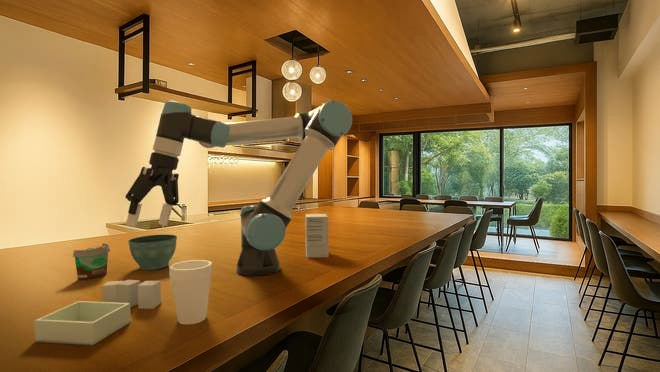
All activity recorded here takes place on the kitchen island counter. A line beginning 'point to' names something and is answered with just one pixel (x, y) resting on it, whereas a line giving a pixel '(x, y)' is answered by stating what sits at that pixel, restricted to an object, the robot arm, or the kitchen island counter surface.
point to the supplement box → (316, 235)
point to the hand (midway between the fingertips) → (147, 225)
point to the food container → (91, 262)
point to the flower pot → (153, 250)
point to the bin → (82, 322)
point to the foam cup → (191, 289)
